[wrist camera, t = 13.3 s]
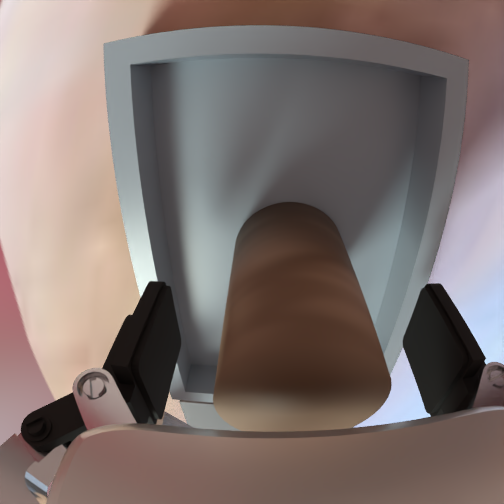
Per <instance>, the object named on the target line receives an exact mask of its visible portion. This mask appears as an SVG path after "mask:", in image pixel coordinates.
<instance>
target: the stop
mask: <svg viewBox="0 0 504 504" xmlns="http://www.w3.org/2000/svg"><path fill="white" fill-rule="evenodd" d="M390 390H391V377H390V374H389V371H388V367H387V364H386V361H385V358H384V354H383V351H382V348H381V345H380V342H379V339H378V336H377V333H376V330H375V327H374V324H373V321H372V318H371V315H370V312H369V309H368V307H367V304H366V301H365V298H364V295H363V293H362V290H361V287H360V284H359V282H358V279H357V276H356V274H355V271H354V268H353V266H352V263H351V261H350V258H349V256H348V253H347V250H346V248H345V245H344V243H343V240H342V238H341V236H340V233H339V231H338V229H337V227H336V225H335V224H334V222H333V221H332V220H331V219H330V217H329V216H327V215H326V214H325V213H324V212H322V211H321V210H319V209H317V208H315V207H313V206H310V205H307V204H304V203H298V202H282V203H277V204H273V205H270V206H267V207H265V208H263V209H261V210H259V211H257V212H256V213H254V214H253V215H252V216H251V217H250V218H249V219H248V220H247V221H246V222H245V223H244V224H243V226H242V227H241V229H240V231H239V233H238V235H237V238H236V242H235V249H234V255H233V262H232V268H231V275H230V281H229V288H228V295H227V302H226V308H225V315H224V322H223V329H222V336H221V343H220V350H219V357H218V364H217V372H216V379H215V386H214V393H213V404H214V407H215V410H216V411H217V413H218V414H219V416H220V417H221V418H222V419H223V420H224V421H225V422H227V423H228V424H229V425H231V426H233V427H234V428H236V429H238V430H240V431H260V432H287V431H318V430H334V429H347V428H351V427H354V426H356V425H357V424H359V423H361V422H363V421H364V420H366V419H368V418H369V417H370V416H372V415H373V414H374V413H375V412H376V411H377V410H379V409H380V407H381V406H382V405H383V404H384V403H385V401H386V399H387V398H388V396H389V393H390Z"/></svg>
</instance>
